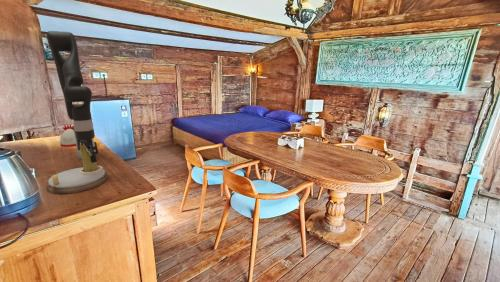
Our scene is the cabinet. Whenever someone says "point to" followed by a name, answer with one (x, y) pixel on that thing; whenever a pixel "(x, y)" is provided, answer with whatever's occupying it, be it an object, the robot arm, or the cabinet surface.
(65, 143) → the kitchen timer
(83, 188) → the turntable base
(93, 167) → the vase
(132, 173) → the cabinet surface
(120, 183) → the cabinet surface
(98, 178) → the turntable
